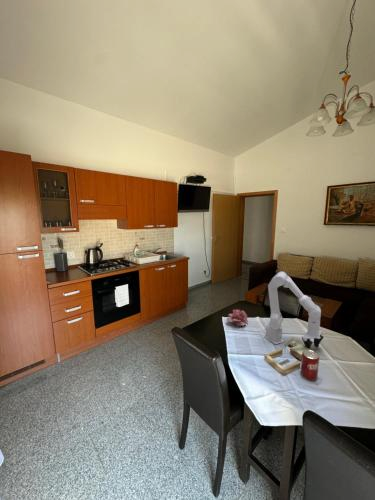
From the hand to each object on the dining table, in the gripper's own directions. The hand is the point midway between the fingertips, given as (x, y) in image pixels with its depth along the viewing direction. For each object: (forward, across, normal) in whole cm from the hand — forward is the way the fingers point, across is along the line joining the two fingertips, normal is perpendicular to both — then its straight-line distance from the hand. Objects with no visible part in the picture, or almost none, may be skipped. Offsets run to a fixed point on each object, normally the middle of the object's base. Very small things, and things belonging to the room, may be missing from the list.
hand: (311, 348), depth 124 cm
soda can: (+2, -19, -12) cm, 22 cm away
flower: (+2, -20, +44) cm, 48 cm away
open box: (+1, -9, 0) cm, 9 cm away
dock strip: (+1, -23, 0) cm, 23 cm away
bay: (+1, -23, 0) cm, 23 cm away
